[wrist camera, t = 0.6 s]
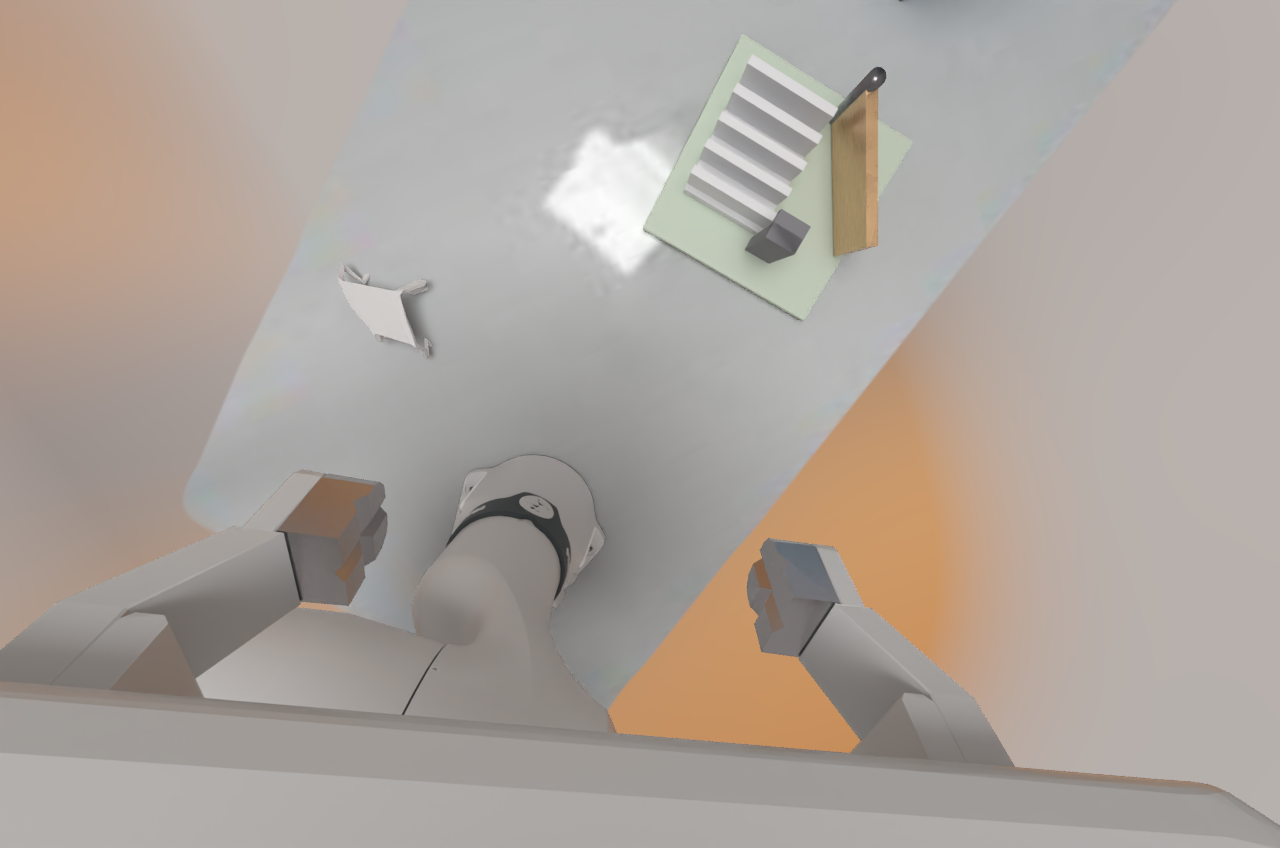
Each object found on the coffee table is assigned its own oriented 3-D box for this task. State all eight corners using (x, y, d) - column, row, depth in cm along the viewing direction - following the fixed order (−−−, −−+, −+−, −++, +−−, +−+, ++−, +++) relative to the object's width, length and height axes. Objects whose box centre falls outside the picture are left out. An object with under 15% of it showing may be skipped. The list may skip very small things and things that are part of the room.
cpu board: (799, 320, 55) (836, 323, 44) (643, 229, 53) (641, 210, 42) (905, 146, 50) (975, 103, 40) (739, 41, 49) (765, -34, 38)
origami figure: (460, 294, 55) (442, 293, 50) (433, 360, 57) (413, 365, 52) (361, 242, 54) (332, 236, 49) (336, 311, 56) (306, 311, 51)
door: (829, 111, 48) (868, 68, 39) (843, 109, 48) (886, 66, 39) (832, 256, 51) (869, 246, 43) (845, 254, 51) (885, 244, 43)
